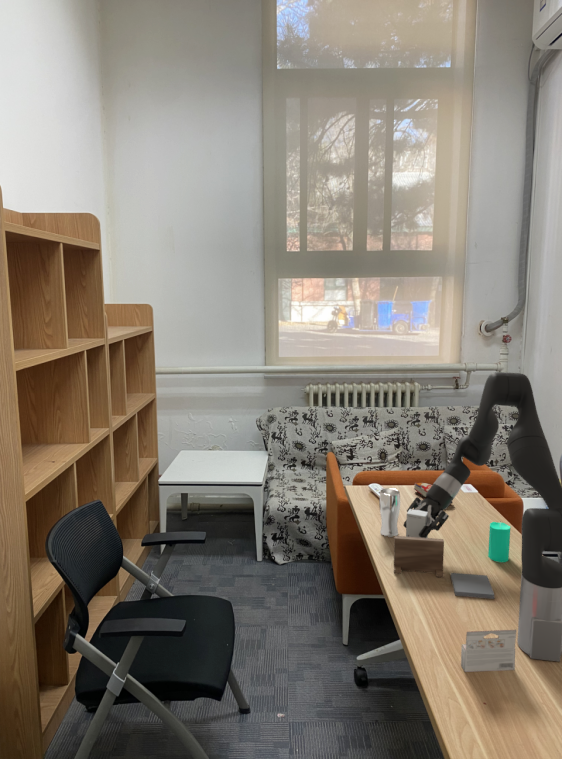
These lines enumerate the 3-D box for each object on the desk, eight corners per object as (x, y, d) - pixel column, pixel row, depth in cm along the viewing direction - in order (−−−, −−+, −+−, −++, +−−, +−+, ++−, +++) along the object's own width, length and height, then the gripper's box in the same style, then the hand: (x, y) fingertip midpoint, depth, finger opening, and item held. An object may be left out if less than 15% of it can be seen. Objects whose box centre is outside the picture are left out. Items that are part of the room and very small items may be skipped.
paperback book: (437, 490, 220) (437, 478, 219) (455, 508, 201) (455, 496, 200) (411, 491, 220) (411, 479, 219) (427, 509, 200) (427, 497, 200)
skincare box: (405, 549, 164) (405, 513, 162) (408, 544, 168) (409, 508, 166) (424, 553, 161) (425, 516, 159) (427, 547, 165) (428, 511, 163)
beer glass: (384, 538, 176) (385, 496, 173) (375, 530, 182) (376, 489, 180) (403, 536, 178) (404, 494, 175) (393, 527, 184) (394, 487, 182)
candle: (510, 563, 159) (513, 525, 157) (489, 561, 160) (491, 524, 158) (506, 553, 165) (508, 517, 163) (486, 552, 166) (488, 516, 164)
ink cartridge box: (460, 665, 115) (461, 624, 114) (509, 663, 116) (512, 622, 114) (464, 673, 113) (466, 631, 111) (515, 671, 113) (517, 629, 112)
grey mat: (494, 598, 140) (494, 594, 140) (455, 595, 142) (455, 591, 142) (486, 579, 150) (487, 575, 150) (450, 576, 152) (450, 572, 151)
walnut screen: (443, 577, 151) (444, 545, 149) (394, 573, 154) (394, 541, 152) (441, 567, 157) (442, 535, 155) (393, 563, 159) (394, 532, 158)
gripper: (422, 477, 171) (392, 517, 168) (453, 491, 158) (420, 535, 155) (435, 490, 174) (405, 530, 171) (466, 505, 161) (434, 548, 158)
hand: (413, 532), depth 163 cm, fingers closed on skincare box, 7 cm apart
